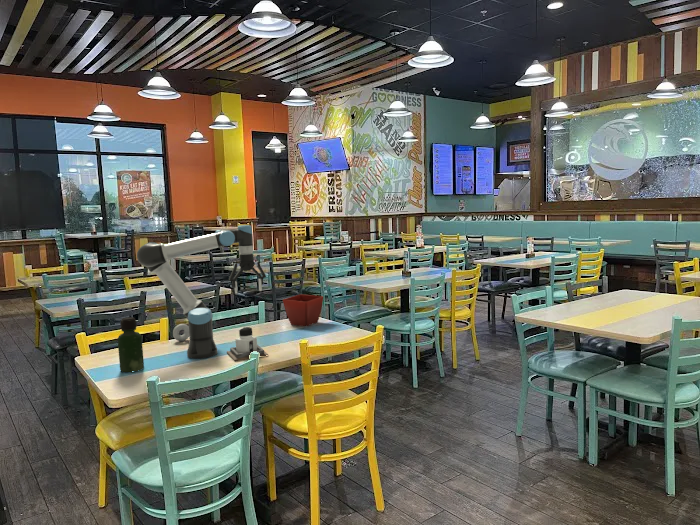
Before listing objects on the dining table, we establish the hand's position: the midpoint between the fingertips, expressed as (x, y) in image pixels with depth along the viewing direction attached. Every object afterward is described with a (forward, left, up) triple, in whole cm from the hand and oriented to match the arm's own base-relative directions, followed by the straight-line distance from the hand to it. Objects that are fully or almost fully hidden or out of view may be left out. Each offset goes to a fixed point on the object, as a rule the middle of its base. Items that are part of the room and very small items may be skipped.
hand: (248, 292), depth 279 cm
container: (-8, -21, -28) cm, 36 cm away
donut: (-33, +27, -29) cm, 52 cm away
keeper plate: (-8, -21, -29) cm, 36 cm away
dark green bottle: (-62, -15, -29) cm, 70 cm away
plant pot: (+42, +27, -29) cm, 58 cm away
